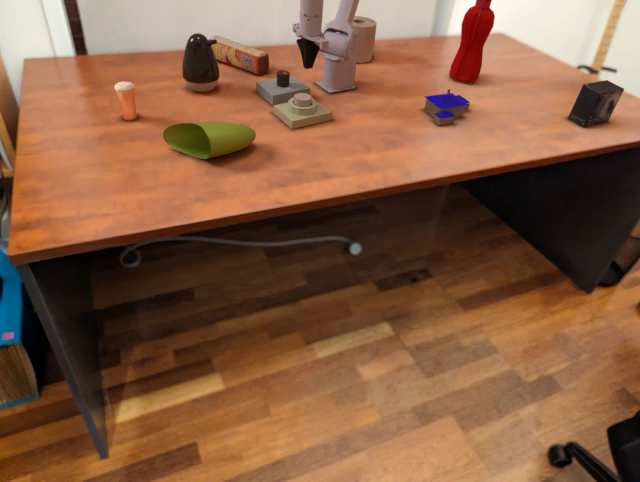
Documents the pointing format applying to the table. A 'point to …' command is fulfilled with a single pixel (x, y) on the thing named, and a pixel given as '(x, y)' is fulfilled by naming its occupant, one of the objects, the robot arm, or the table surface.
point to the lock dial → (283, 78)
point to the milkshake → (126, 99)
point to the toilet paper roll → (364, 38)
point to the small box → (595, 103)
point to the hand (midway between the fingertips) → (308, 67)
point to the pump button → (302, 100)
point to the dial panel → (280, 90)
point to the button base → (301, 113)
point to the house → (445, 107)
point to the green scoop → (208, 138)
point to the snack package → (240, 55)
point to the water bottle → (472, 42)
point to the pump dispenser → (200, 64)
